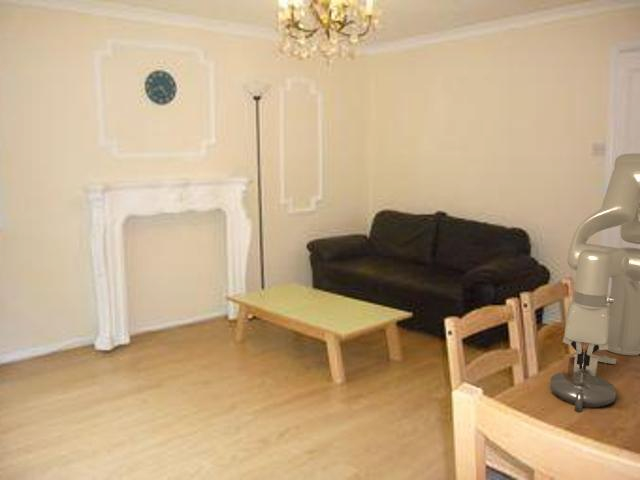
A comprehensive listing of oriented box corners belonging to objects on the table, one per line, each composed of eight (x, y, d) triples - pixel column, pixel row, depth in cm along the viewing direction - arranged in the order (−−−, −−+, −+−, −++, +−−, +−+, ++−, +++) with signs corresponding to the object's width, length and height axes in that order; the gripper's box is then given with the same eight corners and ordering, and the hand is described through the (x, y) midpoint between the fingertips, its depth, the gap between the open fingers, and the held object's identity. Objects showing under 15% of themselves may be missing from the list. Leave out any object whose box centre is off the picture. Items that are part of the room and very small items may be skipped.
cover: (572, 371, 163) (574, 350, 162) (596, 375, 160) (598, 355, 159) (570, 379, 158) (572, 357, 157) (594, 383, 155) (597, 362, 154)
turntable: (538, 380, 153) (541, 355, 152) (591, 377, 156) (593, 353, 154) (571, 407, 139) (574, 379, 137) (628, 403, 141) (632, 376, 140)
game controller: (612, 360, 172) (613, 352, 172) (626, 376, 161) (627, 367, 161) (592, 358, 173) (593, 350, 173) (604, 374, 162) (605, 366, 162)
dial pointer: (575, 405, 142) (577, 389, 141) (582, 407, 141) (584, 390, 140) (574, 411, 139) (576, 394, 138) (581, 412, 138) (583, 395, 138)
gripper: (622, 299, 148) (614, 368, 151) (559, 291, 154) (552, 357, 157) (623, 307, 141) (614, 378, 144) (557, 298, 147) (550, 367, 151)
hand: (582, 367), depth 151 cm, fingers closed
